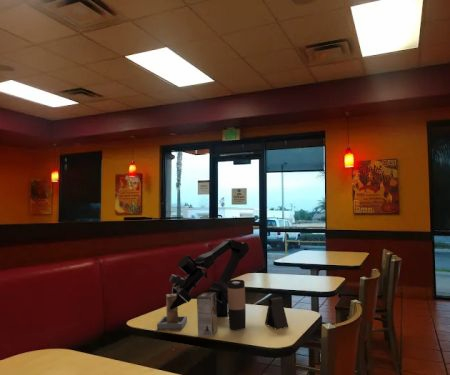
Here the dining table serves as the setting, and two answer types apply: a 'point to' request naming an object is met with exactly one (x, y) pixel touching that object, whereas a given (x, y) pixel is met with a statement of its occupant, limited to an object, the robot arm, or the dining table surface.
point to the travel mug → (236, 304)
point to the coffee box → (207, 314)
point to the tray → (172, 324)
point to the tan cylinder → (172, 314)
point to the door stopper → (276, 313)
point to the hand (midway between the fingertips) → (168, 306)
